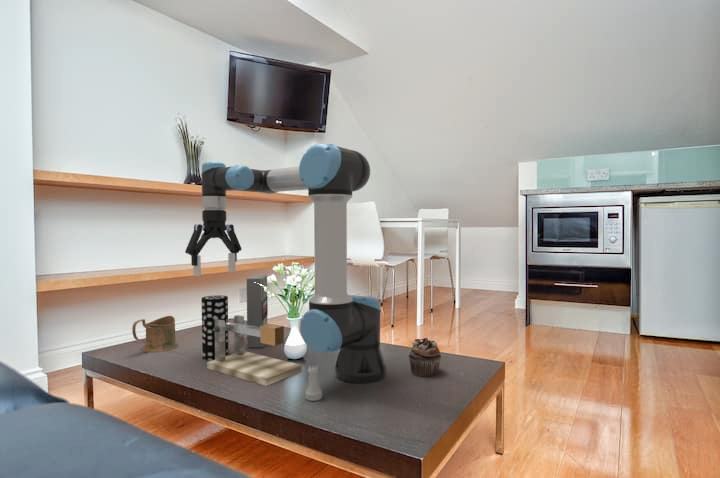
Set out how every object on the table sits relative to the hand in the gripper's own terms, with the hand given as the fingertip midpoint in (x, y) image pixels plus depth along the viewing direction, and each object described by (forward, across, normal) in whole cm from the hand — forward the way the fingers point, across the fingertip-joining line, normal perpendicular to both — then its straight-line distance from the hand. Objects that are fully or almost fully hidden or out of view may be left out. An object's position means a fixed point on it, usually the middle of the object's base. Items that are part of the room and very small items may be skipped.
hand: (215, 273), depth 140 cm
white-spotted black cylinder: (+28, 0, -1) cm, 28 cm away
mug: (+28, +7, -26) cm, 39 cm away
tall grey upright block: (+28, -20, -2) cm, 35 cm away
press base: (+28, +2, +20) cm, 34 cm away
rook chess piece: (+28, +8, +49) cm, 57 cm away
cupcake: (+28, -25, +64) cm, 74 cm away
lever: (+18, +2, +19) cm, 27 cm away
